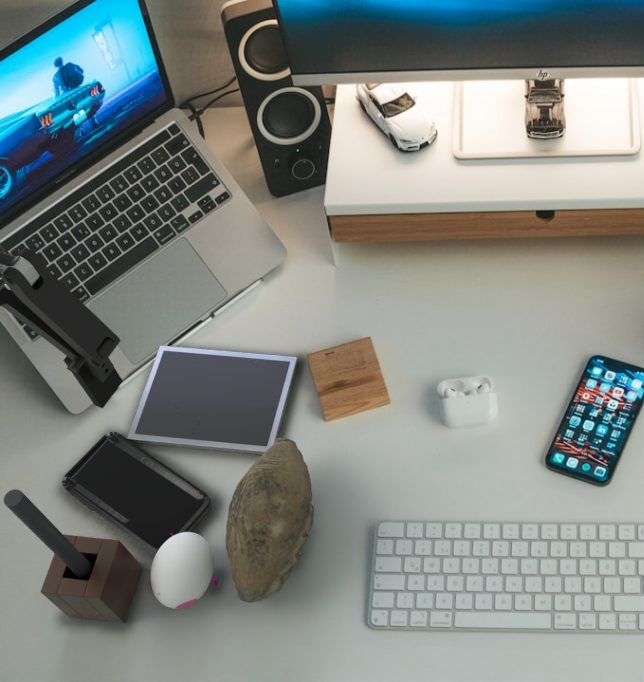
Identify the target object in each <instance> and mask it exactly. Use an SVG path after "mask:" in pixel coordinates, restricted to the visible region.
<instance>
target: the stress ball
mask: <svg viewBox="0 0 644 682" xmlns="http://www.w3.org/2000/svg"><path fill="white" fill-rule="evenodd" d="M171 534H172V533H171ZM214 565H215V561H214V553H213V551H212V547H211V545H210V544H209V543H208V541H207V540H206V539H205V538H204V537H203V536H201V535H200V534H199V533H196V532H192V531H191V532H182V533H179V534H176V535H174V536H173V535H172V537H171V538H169V539H168V540H167V541H166V542H165V543H164V544H163V545H162V546H161V547H160V549H159V550H158V552H157V553H156V555H155V556H154V558H153V560H152V564H151V568H150V575H149V576H150V579H149V580H150V586H151V590H152V593H153V595H154V597H155V598H156V599H157V601H158V602H159V603H160V604H161V605H163V606H164V607H166V608H170V609H174V610H179V609H184V608H187V607H189V606H191V605H194V604H195V603H196V602H197V601H198V600H199V599H201V597H202V596H203V595H204V594H205V593H206V591H207V590H208V587H209V586H210V584H211V583H212V584H213V585H214V587H215V588H216V587H217V583H218V576H217V577H216V578H213V574H214V568H215V567H214ZM212 578H213V579H212Z"/></svg>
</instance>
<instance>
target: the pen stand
mask: <svg viewBox="0 0 644 682" xmlns="http://www.w3.org/2000/svg"><path fill="white" fill-rule="evenodd" d="M62 534H63V533H62ZM63 535H64V536H65V537H66V538H67V539H68V540H69V541H70V542H71V543H72V544H73V545H74V546H75V548H76V549H77V550H78V551H79V552H80V553H81V554H82V555H83V556H84V557H85V558H86V559H87V560H88V561H89V562H90V563H91V564H92V565H93V566H94V568H93V571H92V573H91V576H90V579H89V581H88V580H81V579H80V578H79V577H78V576H77V575H76V574H75V573H74V572H73V571H72V570H71V569H70V568H69V567H68V566H67V565H66V564H65V563H64V562H63V561H62V560H61V559H60V558H59V557H58V556H57V555H56V554H55V553H53V557H52V559H51V561H50V564H49V567H48V570H47V571H46V575H45V578H44V581H43V583H42V586H41V588H40V592H39V593H40V594H42V595H43V596H44V597H45V598H46V599H48V601H50V603H52V604H53V605H54V606H55V607H56V608H58V609H59V610H60V611H61V612H62V613H64V615H65V616H66V617H68V618H75V619H84V620H92V621H101V622H110V623H117V624H125V623H126V621H127V618H128V614H129V612H130V608H131V605H132V603H133V599H134V596H135V593H136V590H137V586H138V584H139V581H140V578H141V574H142V571H143V565H141V563H140V562H139V561H138V559H136V558H135V556H134V555H133V554H132V553H131V551H129V549H128V548H127V547H126V546H125V545H124V544H123V543H122V541H121V540H120V539H114V538H113V539H112V538H111V539H110V538H101V537H91V536H83V535H73V534H63Z"/></svg>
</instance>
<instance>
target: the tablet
mask: <svg viewBox="0 0 644 682" xmlns="http://www.w3.org/2000/svg"><path fill="white" fill-rule="evenodd" d="M298 365H299V358H298V357H297V356H285V355H276V354H275V355H274V354H262V353H251V352H240V351H230V350H227V351H226V350H217V349H206V348H205V349H204V348H194V347H184V346H182V347H181V346H172V345H159V347H158V349H157V352H156V356H155V358H154V362H153V364H152V366H151V369H150V373H149V375H148V379H147V381H146V383H145V386H144V389H143V392H142V395H141V398H140V400H139V404H138V406H137V409H136V412H135V415H134V418H133V420H132V423H131V426H130V429H129V432H128V435H127V437H126V438H127V439H128V440H130V441H131V442H133V443H134V444H145V445H156V446H167V447H177V448H187V449H197V450H209V451H219V452H229V453H230V452H231V453H240V454H248V455H249V454H251V455H261V456H262V455H263V453H264V452H266V451H267V450H268V449H269V448H270V447H271V446H273V445H274V442H275V440H276V439H277V438H279V435H280V431H281V428H282V424H283V420H284V418H285V414H286V409H287V406H288V403H289V399H290V395H291V391H292V387H293V384H294V380H295V377H296V372H297V370H298Z"/></svg>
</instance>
